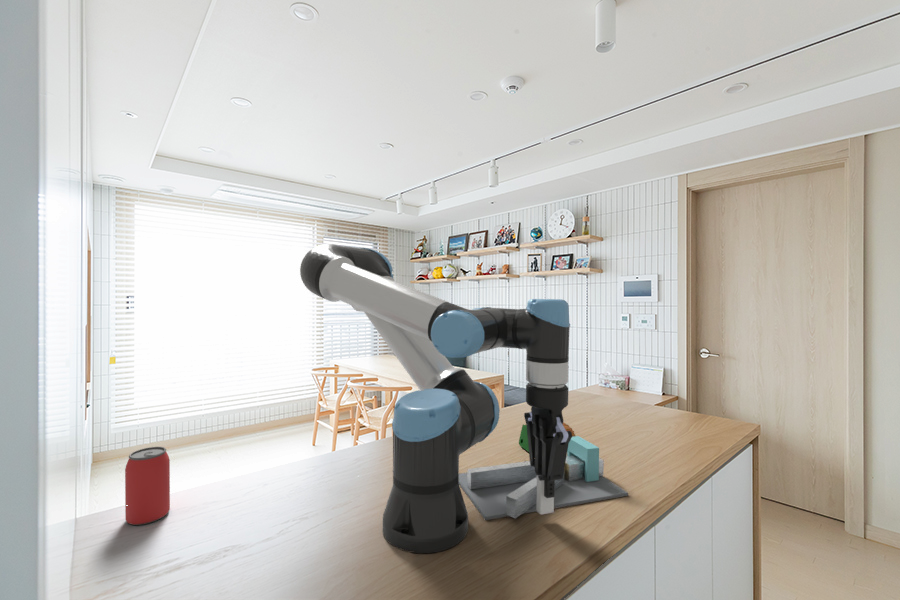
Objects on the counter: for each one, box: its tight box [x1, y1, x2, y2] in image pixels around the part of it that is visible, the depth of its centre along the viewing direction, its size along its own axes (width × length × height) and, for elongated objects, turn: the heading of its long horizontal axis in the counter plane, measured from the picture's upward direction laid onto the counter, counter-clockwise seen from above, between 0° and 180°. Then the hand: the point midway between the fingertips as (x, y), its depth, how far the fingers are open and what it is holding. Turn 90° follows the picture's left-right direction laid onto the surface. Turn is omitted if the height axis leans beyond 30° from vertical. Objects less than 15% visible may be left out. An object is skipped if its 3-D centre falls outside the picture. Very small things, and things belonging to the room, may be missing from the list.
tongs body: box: [467, 455, 605, 490], centre depth 90 cm, size 31×4×4 cm, turn 108°
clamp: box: [518, 424, 529, 453], centre depth 108 cm, size 12×6×9 cm, turn 14°
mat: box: [459, 471, 629, 521], centre depth 89 cm, size 32×18×1 cm, turn 108°
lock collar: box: [567, 435, 600, 482], centre depth 94 cm, size 3×8×7 cm, turn 18°
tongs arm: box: [506, 473, 564, 519], centre depth 82 cm, size 19×2×4 cm, turn 138°
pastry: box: [563, 422, 576, 437], centre depth 120 cm, size 9×7×4 cm
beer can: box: [124, 446, 171, 526], centre depth 76 cm, size 7×7×12 cm
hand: (545, 511), depth 76 cm, fingers closed
